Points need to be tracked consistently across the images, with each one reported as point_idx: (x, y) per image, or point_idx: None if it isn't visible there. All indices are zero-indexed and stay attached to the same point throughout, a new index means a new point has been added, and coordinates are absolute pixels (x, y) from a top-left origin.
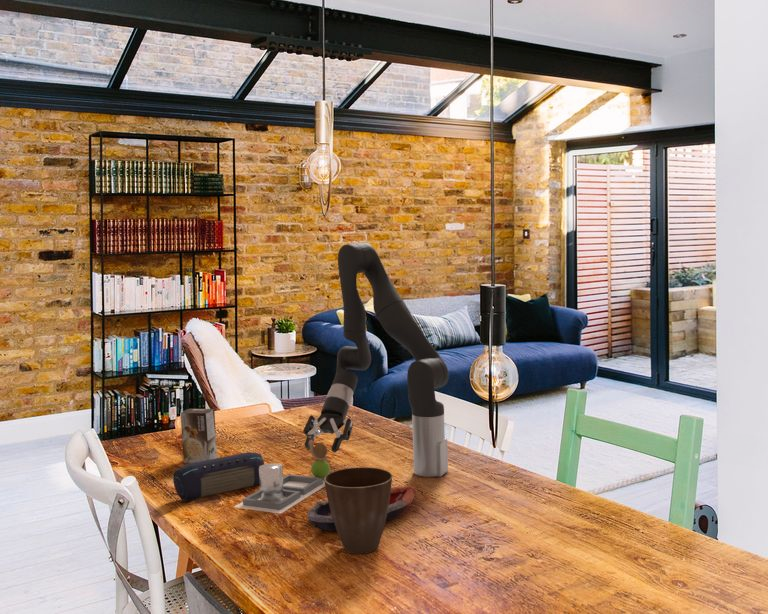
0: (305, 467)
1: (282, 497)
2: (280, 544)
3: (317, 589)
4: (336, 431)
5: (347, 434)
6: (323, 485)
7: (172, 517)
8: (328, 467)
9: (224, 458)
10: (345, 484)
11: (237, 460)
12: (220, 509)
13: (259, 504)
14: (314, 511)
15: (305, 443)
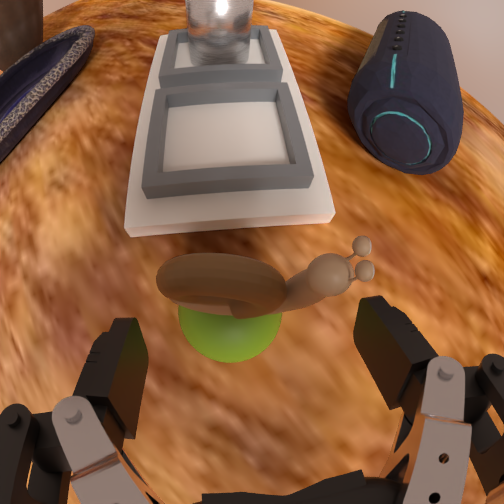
0: (388, 413)
1: (189, 51)
2: (123, 18)
3: (63, 13)
4: (94, 462)
5: (45, 487)
6: (134, 182)
7: (347, 26)
8: (178, 312)
9: (422, 35)
10: (14, 4)
11: (397, 37)
12: (313, 45)
13: None
14: (81, 32)
15: (401, 316)
